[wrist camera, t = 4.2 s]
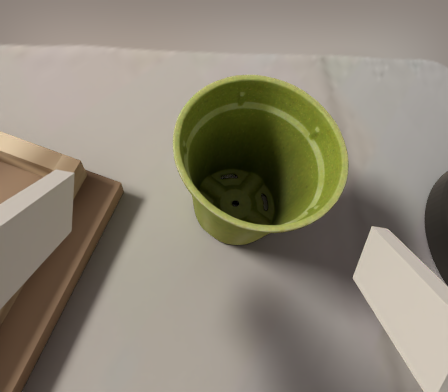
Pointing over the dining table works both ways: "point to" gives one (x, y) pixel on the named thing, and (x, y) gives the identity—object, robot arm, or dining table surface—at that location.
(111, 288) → the dining table surface
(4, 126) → the dining table surface
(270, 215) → the plant pot
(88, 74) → the dining table surface
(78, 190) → the walnut pot stand
